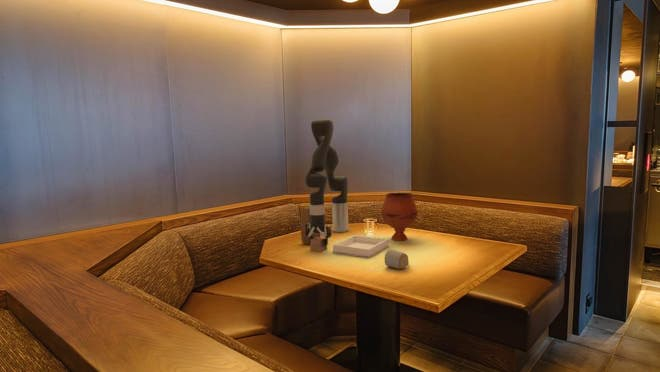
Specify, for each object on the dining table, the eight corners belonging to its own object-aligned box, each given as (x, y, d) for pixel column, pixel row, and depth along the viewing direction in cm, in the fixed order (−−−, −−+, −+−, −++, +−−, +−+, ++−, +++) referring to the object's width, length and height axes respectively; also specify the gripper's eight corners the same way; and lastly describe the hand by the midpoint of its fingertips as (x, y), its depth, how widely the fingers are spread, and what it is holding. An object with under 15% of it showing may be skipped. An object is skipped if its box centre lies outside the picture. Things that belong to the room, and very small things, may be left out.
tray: (354, 242, 228) (354, 235, 228) (388, 246, 218) (388, 238, 217) (332, 252, 210) (332, 244, 209) (369, 257, 199) (369, 249, 199)
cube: (317, 248, 219) (316, 236, 219) (327, 249, 216) (326, 238, 215) (310, 251, 214) (310, 239, 214) (320, 252, 211) (320, 240, 210)
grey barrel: (400, 271, 178) (400, 254, 177) (384, 268, 183) (383, 250, 183) (413, 265, 186) (413, 248, 185) (397, 262, 191) (397, 245, 190)
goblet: (422, 236, 235) (422, 192, 232) (409, 245, 219) (409, 197, 216) (390, 233, 245) (390, 190, 242) (376, 241, 229) (375, 195, 226)
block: (311, 245, 224) (309, 208, 222) (299, 243, 229) (298, 207, 226) (323, 241, 233) (321, 205, 231) (312, 239, 237) (310, 204, 235)
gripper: (333, 212, 212) (334, 244, 214) (309, 211, 220) (311, 241, 222) (325, 215, 206) (326, 248, 208) (301, 213, 213) (302, 244, 215)
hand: (318, 244), depth 215 cm, fingers open, 8 cm apart
